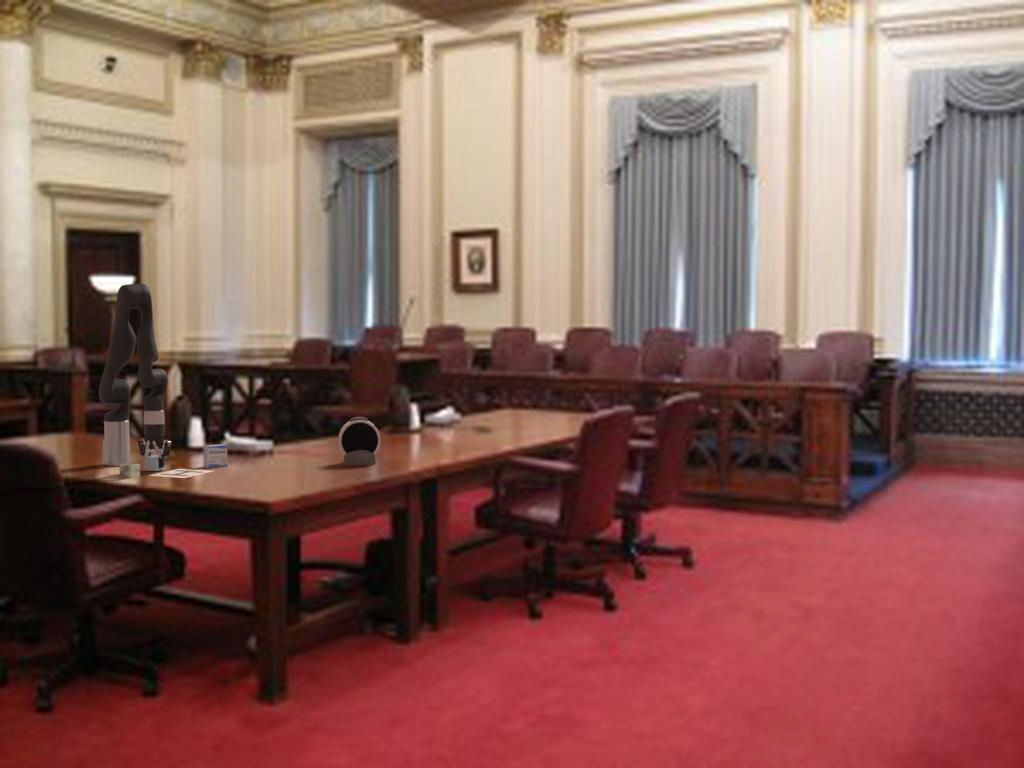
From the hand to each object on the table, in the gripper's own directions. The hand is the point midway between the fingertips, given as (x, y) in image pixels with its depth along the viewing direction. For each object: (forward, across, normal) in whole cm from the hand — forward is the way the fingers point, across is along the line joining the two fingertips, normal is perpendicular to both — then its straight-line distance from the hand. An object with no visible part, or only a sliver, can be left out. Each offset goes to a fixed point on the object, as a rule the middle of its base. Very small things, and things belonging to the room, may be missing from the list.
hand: (155, 467), depth 436 cm
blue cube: (+1, 0, 0) cm, 1 cm away
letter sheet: (+2, +13, -1) cm, 13 cm away
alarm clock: (+2, +60, +47) cm, 77 cm away
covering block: (+2, +1, -15) cm, 15 cm away
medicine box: (+2, +14, +18) cm, 23 cm away
